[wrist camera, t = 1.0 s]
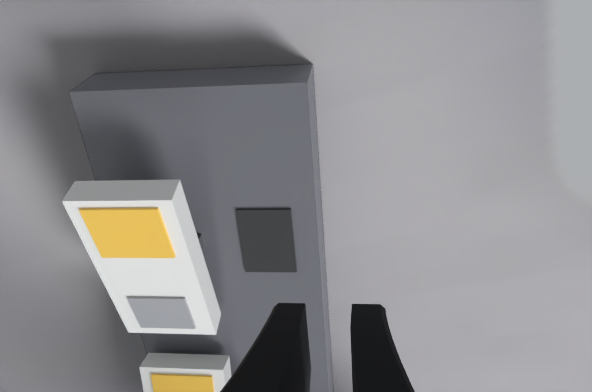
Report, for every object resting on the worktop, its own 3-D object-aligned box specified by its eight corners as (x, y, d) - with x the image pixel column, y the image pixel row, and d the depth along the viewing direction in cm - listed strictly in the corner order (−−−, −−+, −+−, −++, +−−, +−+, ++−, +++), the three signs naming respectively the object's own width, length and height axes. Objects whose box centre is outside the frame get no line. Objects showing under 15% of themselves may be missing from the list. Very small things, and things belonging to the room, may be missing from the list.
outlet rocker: (221, 313, 22) (215, 336, 21) (136, 312, 22) (127, 334, 21) (180, 179, 17) (170, 202, 16) (74, 181, 18) (60, 203, 17)
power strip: (337, 449, 29) (334, 501, 27) (193, 442, 30) (178, 491, 28) (312, 63, 19) (304, 91, 16) (94, 73, 20) (57, 100, 17)
